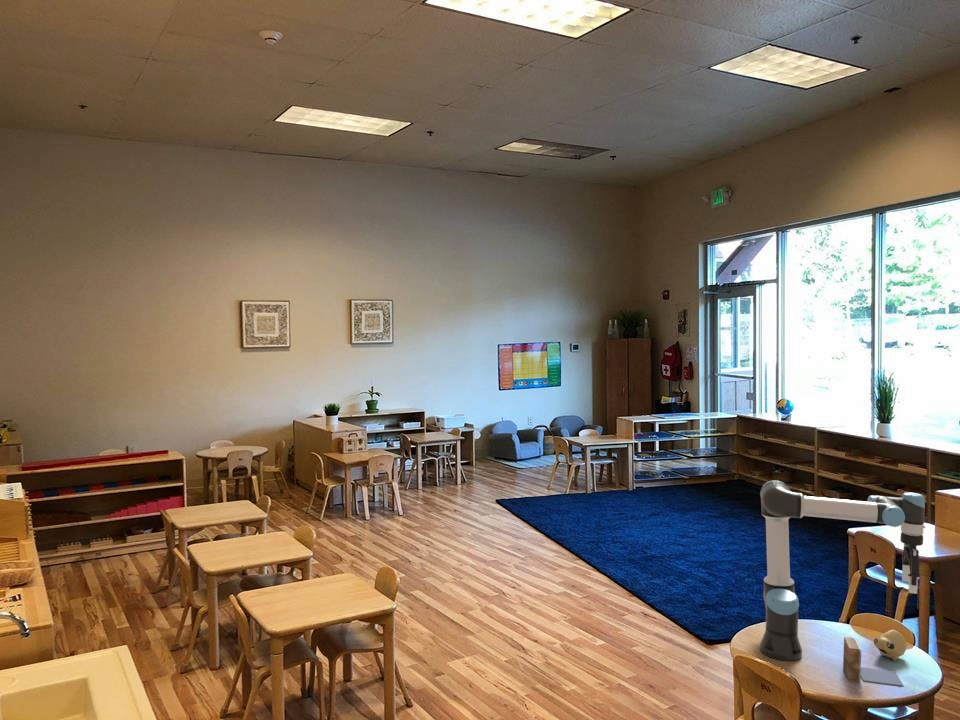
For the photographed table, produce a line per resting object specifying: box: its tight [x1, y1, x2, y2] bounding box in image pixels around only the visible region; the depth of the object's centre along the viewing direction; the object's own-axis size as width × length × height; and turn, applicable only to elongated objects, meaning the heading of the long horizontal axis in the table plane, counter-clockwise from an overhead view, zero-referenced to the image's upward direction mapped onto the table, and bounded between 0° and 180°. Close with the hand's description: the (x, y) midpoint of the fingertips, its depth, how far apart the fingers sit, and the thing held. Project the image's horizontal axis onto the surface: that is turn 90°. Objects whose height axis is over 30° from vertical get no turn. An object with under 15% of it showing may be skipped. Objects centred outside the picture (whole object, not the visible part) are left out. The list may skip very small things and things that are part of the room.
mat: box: [861, 666, 904, 687], centre depth 267 cm, size 13×11×1 cm
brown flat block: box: [842, 636, 863, 683], centre depth 268 cm, size 4×10×12 cm, turn 164°
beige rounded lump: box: [873, 629, 907, 661], centre depth 282 cm, size 10×12×11 cm
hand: (909, 587), depth 283 cm, fingers open, 13 cm apart
